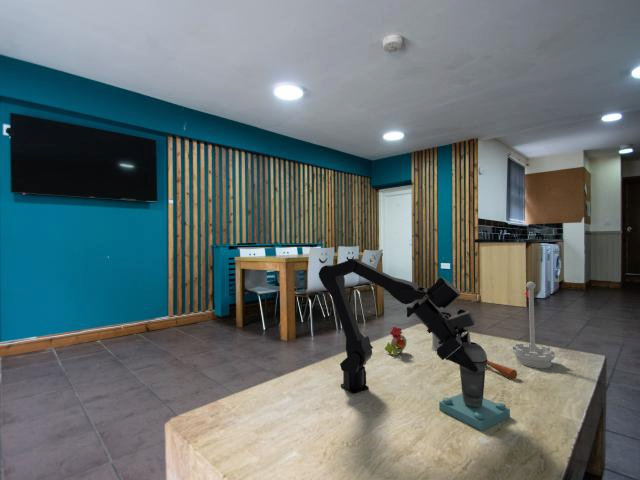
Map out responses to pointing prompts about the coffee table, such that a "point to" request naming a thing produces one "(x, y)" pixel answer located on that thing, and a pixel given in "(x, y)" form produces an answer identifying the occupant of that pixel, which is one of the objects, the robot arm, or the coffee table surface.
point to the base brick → (475, 412)
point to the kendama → (504, 370)
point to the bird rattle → (396, 342)
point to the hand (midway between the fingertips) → (477, 366)
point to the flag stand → (533, 341)
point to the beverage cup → (473, 374)
